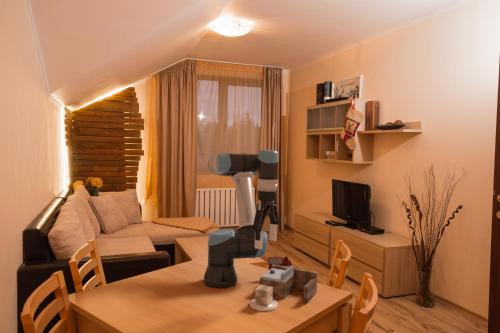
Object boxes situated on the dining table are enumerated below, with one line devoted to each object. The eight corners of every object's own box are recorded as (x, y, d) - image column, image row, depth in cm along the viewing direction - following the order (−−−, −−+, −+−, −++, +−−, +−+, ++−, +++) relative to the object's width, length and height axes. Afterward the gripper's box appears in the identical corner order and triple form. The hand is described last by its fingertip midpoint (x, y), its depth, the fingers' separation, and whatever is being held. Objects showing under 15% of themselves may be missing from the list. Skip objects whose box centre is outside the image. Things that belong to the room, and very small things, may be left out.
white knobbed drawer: (261, 278, 152) (261, 270, 152) (272, 270, 163) (272, 262, 163) (283, 282, 148) (284, 274, 148) (294, 273, 159) (294, 265, 159)
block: (255, 304, 140) (255, 288, 140) (260, 299, 145) (261, 284, 145) (267, 307, 138) (267, 291, 138) (272, 302, 143) (272, 287, 142)
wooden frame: (259, 293, 153) (260, 273, 152) (272, 283, 165) (273, 264, 165) (307, 303, 144) (307, 282, 143) (317, 291, 156) (317, 272, 156)
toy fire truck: (295, 280, 169) (296, 258, 169) (269, 281, 167) (269, 259, 167) (291, 275, 176) (292, 254, 175) (266, 276, 174) (266, 254, 174)
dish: (244, 307, 139) (244, 305, 139) (256, 297, 149) (256, 295, 149) (271, 313, 134) (271, 311, 134) (282, 302, 144) (282, 300, 144)
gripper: (262, 194, 129) (260, 253, 130) (288, 187, 151) (286, 238, 152) (243, 192, 132) (242, 250, 133) (271, 186, 154) (270, 236, 156)
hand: (265, 244), depth 143 cm, fingers open, 13 cm apart
